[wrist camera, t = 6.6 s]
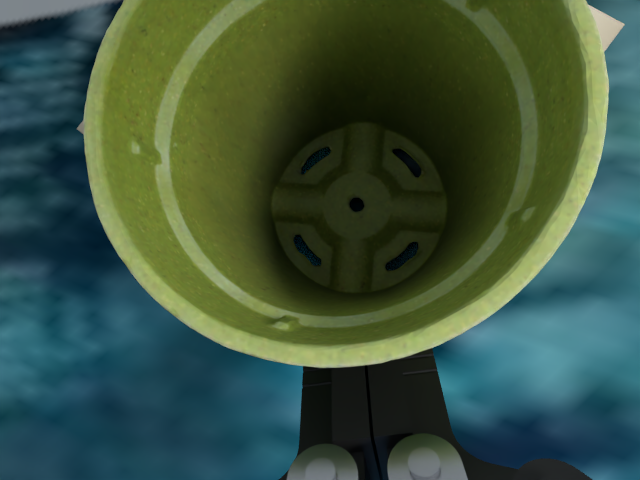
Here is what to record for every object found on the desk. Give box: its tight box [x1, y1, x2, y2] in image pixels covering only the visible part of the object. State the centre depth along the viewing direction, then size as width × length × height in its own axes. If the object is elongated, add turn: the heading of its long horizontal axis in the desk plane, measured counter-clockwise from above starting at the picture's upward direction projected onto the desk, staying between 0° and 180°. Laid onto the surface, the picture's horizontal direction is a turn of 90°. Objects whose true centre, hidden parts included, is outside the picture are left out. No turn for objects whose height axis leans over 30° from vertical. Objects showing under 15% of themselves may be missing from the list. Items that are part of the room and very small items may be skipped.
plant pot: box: [84, 0, 609, 368], centre depth 13 cm, size 9×9×9 cm
